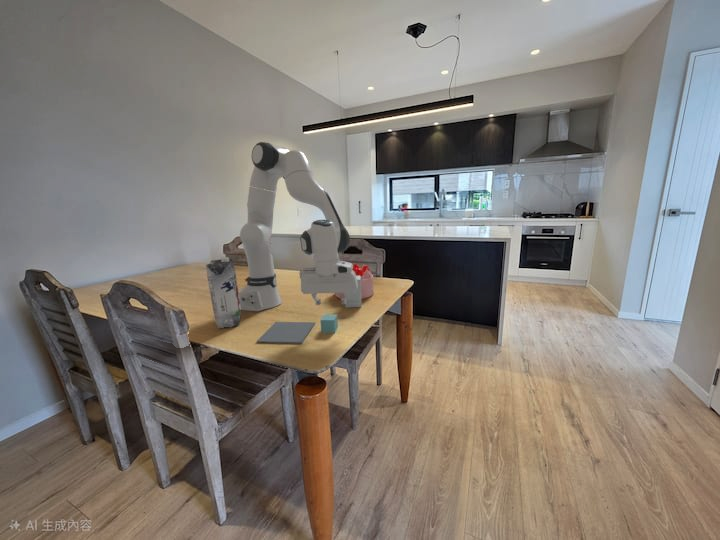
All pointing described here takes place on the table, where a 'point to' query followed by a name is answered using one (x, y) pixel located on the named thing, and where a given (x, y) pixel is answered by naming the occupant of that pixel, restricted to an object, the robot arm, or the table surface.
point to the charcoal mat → (287, 332)
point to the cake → (362, 281)
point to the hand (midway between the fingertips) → (331, 304)
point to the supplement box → (354, 296)
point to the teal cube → (329, 324)
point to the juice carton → (224, 292)
